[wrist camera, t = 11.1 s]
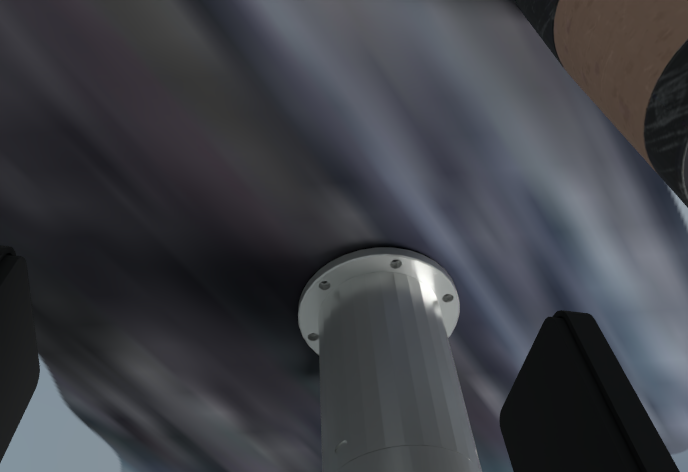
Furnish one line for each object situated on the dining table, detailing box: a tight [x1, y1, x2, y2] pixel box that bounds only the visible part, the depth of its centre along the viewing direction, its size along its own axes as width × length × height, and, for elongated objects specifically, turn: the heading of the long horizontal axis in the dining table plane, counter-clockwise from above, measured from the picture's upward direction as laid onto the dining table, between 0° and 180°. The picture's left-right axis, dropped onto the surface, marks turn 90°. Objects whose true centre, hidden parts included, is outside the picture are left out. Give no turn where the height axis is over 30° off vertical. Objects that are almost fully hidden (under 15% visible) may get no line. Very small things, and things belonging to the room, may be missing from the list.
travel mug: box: [515, 0, 688, 207], centre depth 26 cm, size 8×8×20 cm
